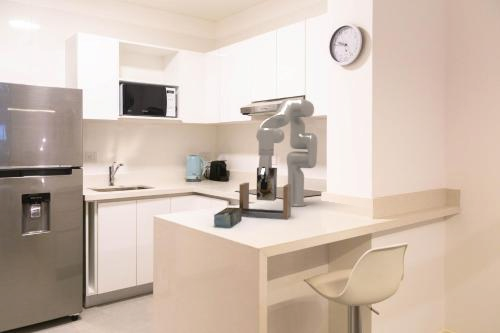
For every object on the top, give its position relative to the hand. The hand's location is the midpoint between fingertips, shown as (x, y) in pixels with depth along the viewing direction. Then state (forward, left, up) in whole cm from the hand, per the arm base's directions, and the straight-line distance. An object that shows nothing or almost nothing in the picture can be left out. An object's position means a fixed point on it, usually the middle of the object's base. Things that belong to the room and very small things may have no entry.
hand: (265, 188), depth 207 cm
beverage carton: (+23, -12, -14) cm, 30 cm away
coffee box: (0, +1, -6) cm, 6 cm away
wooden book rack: (0, 0, -14) cm, 14 cm away
